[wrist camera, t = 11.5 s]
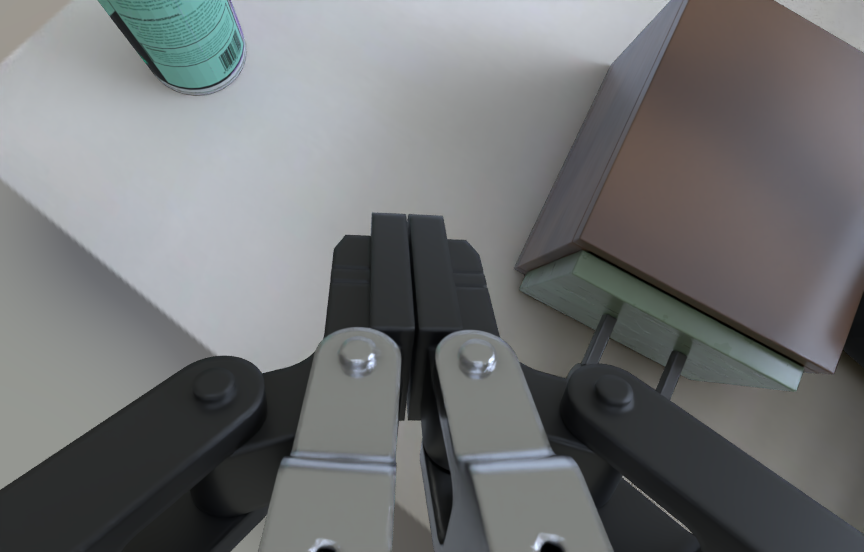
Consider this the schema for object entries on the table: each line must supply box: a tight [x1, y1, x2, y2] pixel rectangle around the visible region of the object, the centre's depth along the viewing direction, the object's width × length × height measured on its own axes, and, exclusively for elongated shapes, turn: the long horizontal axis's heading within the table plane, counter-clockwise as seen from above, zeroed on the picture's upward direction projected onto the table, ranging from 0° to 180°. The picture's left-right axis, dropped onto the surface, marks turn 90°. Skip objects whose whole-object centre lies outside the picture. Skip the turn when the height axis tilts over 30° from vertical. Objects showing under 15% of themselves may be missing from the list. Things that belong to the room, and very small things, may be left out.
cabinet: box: [514, 0, 864, 374], centre depth 29 cm, size 15×13×10 cm
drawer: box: [519, 250, 804, 400], centre depth 28 cm, size 18×11×8 cm, turn 154°
